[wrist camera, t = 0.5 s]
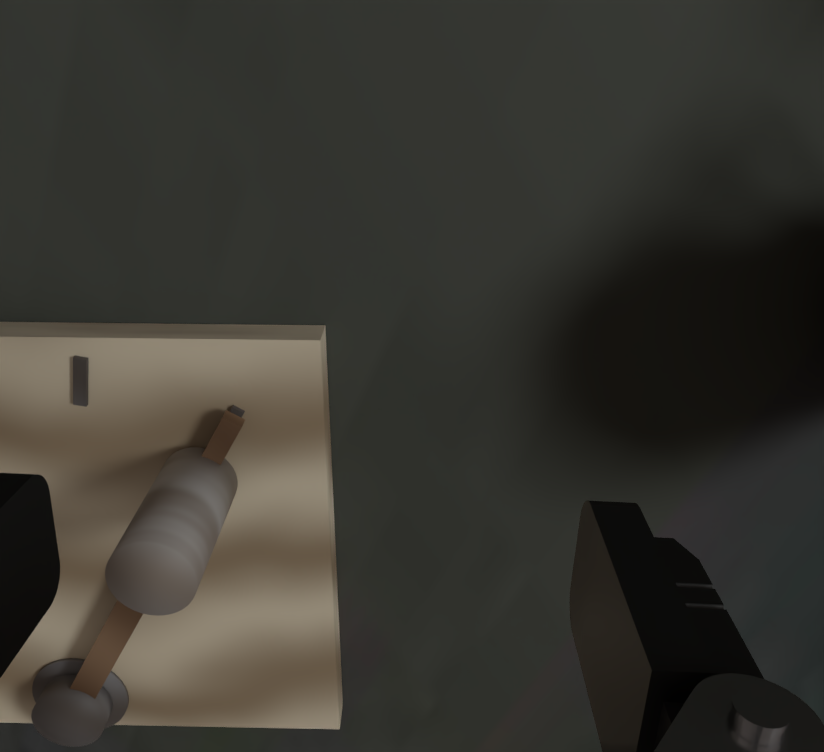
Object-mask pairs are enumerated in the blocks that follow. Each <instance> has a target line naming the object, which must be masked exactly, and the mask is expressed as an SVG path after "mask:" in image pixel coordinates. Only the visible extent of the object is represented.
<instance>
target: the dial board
mask: <svg viewBox="0 0 824 752" xmlns="http://www.w3.org/2000/svg"><path fill="white" fill-rule="evenodd" d="M226 410H227V411H229V412H231V413H233V414H235V415H237V416H239V417H241V418H243V419H245V421H244V424H243V426H242V428H241V430H240V432H239V433H238V435H237V437H236V439H235V440H234V442H233V444H232V446H231V448H230V449H229V451H228V453H227V455H226V457H225V459H226V460H227V461H228V462H229V463H230V464H231V465H232V467H233V468H234V470H235V473H236V476H237V480H238V486H237V491H236V494H235V497H234V499H233V502H232V504H231V507H230V509H229V512H228V514H227V517H226V519H225V522H224V524H223V527H222V529H221V532H220V534H219V537H218V539H217V542H216V544H215V547H214V549H213V552H212V554H211V557H210V559H209V562H208V564H207V567H206V569H205V572H204V574H203V577H202V579H201V582H200V584H199V587H198V589H197V592H196V594H195V596H194V598H193V600H192V601H191V603H190V604H189V605H188V606H187V607H185V608H184V609H182V610H180V611H178V612H176V613H173V614H169V615H161V616H156V615H147V614H143V615H142V617H141V619H140V620H139V622H138V624H137V626H136V627H135V629H134V631H133V633H132V635H131V636H130V638H129V640H128V642H127V643H126V645H125V647H124V649H123V650H122V652H121V654H120V656H119V658H118V659H117V661H116V663H115V665H114V666H113V668H112V670H111V672H110V674H109V675H108V677H107V679H106V681H105V682H104V684H103V687H104V688H105V689H106V690H107V691H108V692H109V694H110V696H111V698H112V701H113V709H112V712H111V714H110V716H109V718H108V721H107V723H106V725H105V727H104V729H105V728H108V727H110V726H112V725H151V726H201V727H251V728H301V729H340V722H341V714H342V706H343V700H342V678H341V656H340V634H339V613H338V591H337V569H336V547H335V526H334V504H333V482H332V460H331V439H330V417H329V395H328V373H327V352H326V330H325V325H246V324H157V323H68V322H0V473H18V474H38V475H41V476H43V477H44V478H45V479H46V481H47V483H48V486H49V491H50V497H51V504H52V511H53V518H54V525H55V531H56V538H57V545H58V552H59V559H60V579H59V585H58V589H57V593H56V596H55V598H54V601H53V603H52V605H51V606H50V608H49V609H48V611H47V612H46V614H45V615H44V616H43V618H42V619H41V621H40V622H39V624H38V625H37V626H36V628H35V629H34V631H33V632H32V634H31V635H30V636H29V638H28V639H27V641H26V642H25V644H24V645H23V647H22V648H21V649H20V651H19V652H18V654H17V655H16V657H15V658H14V659H13V661H12V662H11V664H10V665H9V667H8V668H7V669H6V671H5V672H4V674H3V675H2V677H1V678H0V722H1V723H33V722H32V718H31V714H32V710H33V708H34V706H35V704H36V702H37V701H38V699H39V697H40V695H41V694H42V692H43V690H44V688H45V687H46V685H47V684H48V683H49V682H50V681H51V680H52V679H54V678H56V677H59V676H63V675H77V674H78V672H79V670H80V668H81V667H82V665H83V663H84V661H85V659H86V657H87V655H88V654H89V652H90V650H91V648H92V646H93V644H94V642H95V641H96V639H97V637H98V635H99V633H100V631H101V629H102V628H103V626H104V624H105V622H106V620H107V618H108V617H109V615H110V613H111V611H112V609H113V607H114V605H115V604H116V602H117V599H116V598H115V596H114V595H113V594H112V593H111V591H110V589H109V587H108V585H107V582H106V579H105V568H106V564H107V562H108V560H109V558H110V557H111V555H112V553H113V551H114V550H115V548H116V546H117V545H118V543H119V541H120V539H121V538H122V536H123V534H124V532H125V531H126V529H127V527H128V526H129V524H130V522H131V520H132V519H133V517H134V515H135V514H136V512H137V510H138V508H139V507H140V505H141V503H142V501H143V500H144V498H145V496H146V495H147V493H148V491H149V489H150V488H151V486H152V484H153V483H154V481H155V479H156V477H157V476H158V474H159V472H160V471H161V469H162V467H163V465H164V464H165V462H166V460H167V459H168V458H169V457H170V456H171V455H172V454H174V453H175V452H177V451H179V450H181V449H185V448H190V447H200V448H206V446H207V444H208V443H209V441H210V439H211V437H212V435H213V433H214V432H215V430H216V428H217V426H218V424H219V422H220V420H221V419H222V417H223V415H224V413H225V411H226Z"/></svg>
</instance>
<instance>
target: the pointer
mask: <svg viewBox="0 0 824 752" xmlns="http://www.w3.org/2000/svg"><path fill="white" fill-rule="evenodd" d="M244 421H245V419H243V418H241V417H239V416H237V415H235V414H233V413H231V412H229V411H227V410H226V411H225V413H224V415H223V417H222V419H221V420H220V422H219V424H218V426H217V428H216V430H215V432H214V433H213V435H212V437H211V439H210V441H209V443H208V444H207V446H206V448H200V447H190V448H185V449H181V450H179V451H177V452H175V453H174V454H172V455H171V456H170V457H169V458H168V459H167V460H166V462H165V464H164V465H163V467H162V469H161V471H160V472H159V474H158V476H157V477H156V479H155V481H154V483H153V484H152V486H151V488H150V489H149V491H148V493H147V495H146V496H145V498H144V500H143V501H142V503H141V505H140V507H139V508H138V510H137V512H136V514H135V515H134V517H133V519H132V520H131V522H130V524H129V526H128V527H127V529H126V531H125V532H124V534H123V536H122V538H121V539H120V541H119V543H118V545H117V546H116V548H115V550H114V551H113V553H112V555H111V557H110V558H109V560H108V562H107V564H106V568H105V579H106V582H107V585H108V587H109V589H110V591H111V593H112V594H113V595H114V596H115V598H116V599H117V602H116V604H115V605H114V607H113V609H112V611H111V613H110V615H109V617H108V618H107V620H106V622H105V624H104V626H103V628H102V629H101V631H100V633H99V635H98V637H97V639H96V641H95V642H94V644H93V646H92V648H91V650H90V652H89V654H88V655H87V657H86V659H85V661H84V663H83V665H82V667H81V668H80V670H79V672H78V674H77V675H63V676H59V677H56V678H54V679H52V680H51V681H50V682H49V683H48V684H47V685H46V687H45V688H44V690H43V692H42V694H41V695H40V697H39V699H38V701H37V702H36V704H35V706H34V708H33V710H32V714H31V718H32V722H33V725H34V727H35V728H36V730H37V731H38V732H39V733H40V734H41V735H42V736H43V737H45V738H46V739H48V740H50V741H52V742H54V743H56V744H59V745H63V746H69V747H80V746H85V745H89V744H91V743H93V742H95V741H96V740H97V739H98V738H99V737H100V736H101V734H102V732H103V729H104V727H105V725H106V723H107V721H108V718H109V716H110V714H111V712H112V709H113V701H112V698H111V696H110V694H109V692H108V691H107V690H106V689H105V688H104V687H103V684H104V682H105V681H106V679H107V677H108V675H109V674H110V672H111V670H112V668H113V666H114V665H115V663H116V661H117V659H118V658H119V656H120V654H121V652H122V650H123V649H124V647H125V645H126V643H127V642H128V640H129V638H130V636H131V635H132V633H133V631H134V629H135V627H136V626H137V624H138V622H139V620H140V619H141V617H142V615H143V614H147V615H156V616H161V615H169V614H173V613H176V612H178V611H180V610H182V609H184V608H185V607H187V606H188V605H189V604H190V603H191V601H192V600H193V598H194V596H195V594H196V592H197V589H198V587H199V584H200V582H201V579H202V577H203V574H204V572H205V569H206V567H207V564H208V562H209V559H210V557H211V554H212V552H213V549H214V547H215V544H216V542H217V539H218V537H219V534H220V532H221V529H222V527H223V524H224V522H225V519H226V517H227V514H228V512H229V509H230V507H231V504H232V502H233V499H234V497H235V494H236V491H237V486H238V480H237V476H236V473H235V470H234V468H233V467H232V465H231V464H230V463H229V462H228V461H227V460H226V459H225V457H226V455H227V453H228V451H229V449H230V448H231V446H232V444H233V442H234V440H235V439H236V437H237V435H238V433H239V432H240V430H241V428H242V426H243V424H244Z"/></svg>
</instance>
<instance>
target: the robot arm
mask: <svg viewBox="0 0 824 752" xmlns="http://www.w3.org/2000/svg"><path fill="white" fill-rule="evenodd" d="M59 579H60V559H59V552H58V545H57V538H56V531H55V525H54V518H53V511H52V504H51V497H50V491H49V486H48V483H47V481H46V479H45V478H44V477H43V476H41V475H38V474H18V473H0V678H1V677H2V675H3V674H4V672H5V671H6V669H7V668H8V667H9V665H10V664H11V662H12V661H13V659H14V658H15V657H16V655H17V654H18V652H19V651H20V649H21V648H22V647H23V645H24V644H25V642H26V641H27V639H28V638H29V636H30V635H31V634H32V632H33V631H34V629H35V628H36V626H37V625H38V624H39V622H40V621H41V619H42V618H43V616H44V615H45V614H46V612H47V611H48V609H49V608H50V606H51V605H52V603H53V601H54V598H55V596H56V593H57V589H58V585H59ZM570 621H571V628H572V633H573V637H574V641H575V645H576V649H577V653H578V657H579V661H580V665H581V669H582V673H583V677H584V680H585V684H586V688H587V692H588V696H589V700H590V704H591V708H592V712H593V716H594V720H595V724H596V728H597V732H598V736H599V740H600V743H601V747H602V751H603V752H824V725H823V723H822V721H821V720H820V718H819V717H818V716H817V714H816V713H815V712H814V711H813V710H812V709H811V708H810V707H809V706H808V705H807V704H806V703H805V702H804V701H802V700H801V699H800V698H799V697H797V696H796V695H794V694H793V693H791V692H790V691H788V690H787V689H785V688H783V687H781V686H779V685H777V684H775V683H772V682H770V681H767V680H765V679H764V678H763V676H762V674H761V672H760V670H759V669H758V667H757V665H756V663H755V661H754V659H753V658H752V656H751V654H750V652H749V650H748V648H747V647H746V645H745V643H744V641H743V639H742V637H741V636H740V634H739V632H738V630H737V628H736V627H735V625H734V623H733V621H732V619H731V617H730V616H729V614H728V612H727V610H724V609H723V603H722V601H721V599H720V597H719V595H718V594H717V592H716V590H715V589H712V583H711V581H710V579H709V577H708V575H707V574H706V572H705V570H704V568H703V566H702V564H701V563H700V561H699V559H697V558H696V557H695V556H694V555H693V554H691V553H690V552H689V551H688V550H687V549H685V548H684V547H683V546H682V545H681V544H679V543H678V542H677V541H676V540H675V539H673V538H656V537H653V534H652V532H651V530H650V528H649V526H648V524H647V522H646V520H645V518H644V516H643V514H642V511H641V509H640V507H639V506H638V505H637V504H636V503H625V502H603V501H585V503H584V505H583V507H582V511H581V516H580V523H579V530H578V537H577V545H576V552H575V559H574V566H573V573H572V581H571V588H570Z"/></svg>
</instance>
